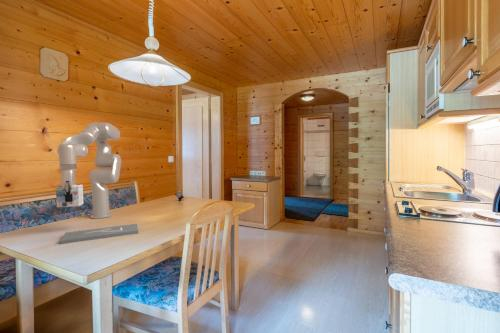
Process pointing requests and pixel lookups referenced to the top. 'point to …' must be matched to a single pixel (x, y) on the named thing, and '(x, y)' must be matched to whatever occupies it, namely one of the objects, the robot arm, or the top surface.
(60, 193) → the light bulb box
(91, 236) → the slate board
